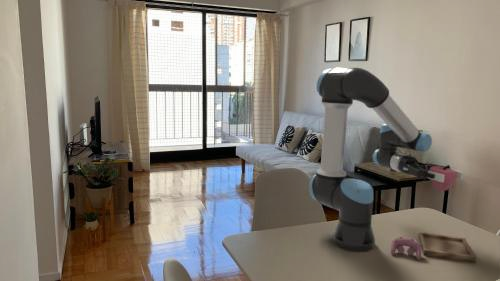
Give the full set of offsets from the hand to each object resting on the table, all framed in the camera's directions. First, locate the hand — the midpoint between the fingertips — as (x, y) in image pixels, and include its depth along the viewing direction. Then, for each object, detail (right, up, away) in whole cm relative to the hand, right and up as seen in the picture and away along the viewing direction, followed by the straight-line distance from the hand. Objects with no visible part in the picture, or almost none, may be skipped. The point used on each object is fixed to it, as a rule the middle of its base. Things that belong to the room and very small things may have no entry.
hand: (453, 177), depth 138 cm
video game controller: (-19, -27, -4) cm, 33 cm away
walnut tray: (-3, -26, 0) cm, 26 cm away
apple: (-2, -5, +5) cm, 8 cm away
